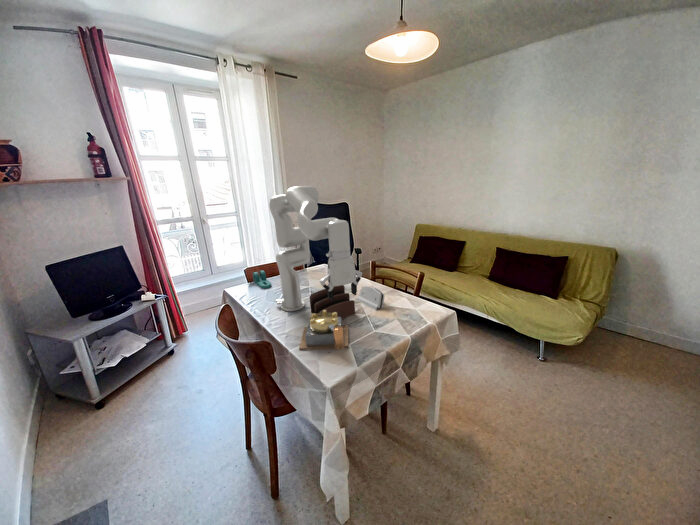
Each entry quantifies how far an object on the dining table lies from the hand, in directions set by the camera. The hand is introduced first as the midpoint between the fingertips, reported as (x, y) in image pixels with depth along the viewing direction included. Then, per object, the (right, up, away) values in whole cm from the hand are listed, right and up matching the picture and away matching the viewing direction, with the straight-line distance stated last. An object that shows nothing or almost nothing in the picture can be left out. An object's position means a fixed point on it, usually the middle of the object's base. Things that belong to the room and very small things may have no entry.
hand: (342, 296), depth 107 cm
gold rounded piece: (-6, -18, +8) cm, 20 cm away
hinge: (+14, -9, +43) cm, 47 cm away
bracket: (-55, -2, +77) cm, 95 cm away
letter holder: (-5, -14, +31) cm, 34 cm away
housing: (-8, -19, +13) cm, 25 cm away
